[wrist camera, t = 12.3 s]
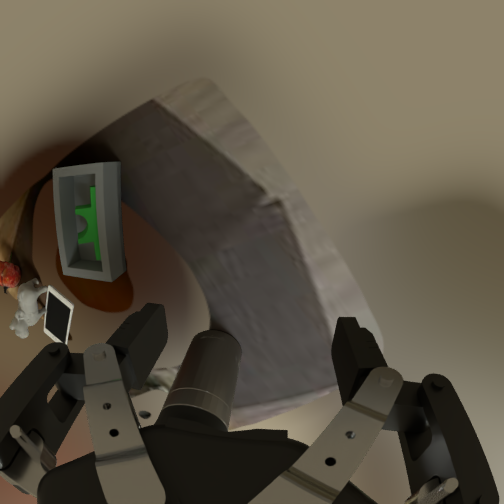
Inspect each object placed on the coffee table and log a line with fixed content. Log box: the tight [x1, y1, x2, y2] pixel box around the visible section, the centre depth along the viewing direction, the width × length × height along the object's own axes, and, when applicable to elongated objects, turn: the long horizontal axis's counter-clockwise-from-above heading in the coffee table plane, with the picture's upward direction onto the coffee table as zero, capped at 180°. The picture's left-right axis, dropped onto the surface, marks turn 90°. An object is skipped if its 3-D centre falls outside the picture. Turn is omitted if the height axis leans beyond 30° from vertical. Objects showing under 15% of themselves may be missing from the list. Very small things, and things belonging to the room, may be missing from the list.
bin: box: [53, 162, 126, 282], centre depth 38 cm, size 18×11×5 cm, turn 178°
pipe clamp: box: [75, 185, 101, 260], centre depth 37 cm, size 11×4×5 cm
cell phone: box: [44, 285, 74, 345], centre depth 49 cm, size 8×16×1 cm, turn 149°
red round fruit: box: [0, 252, 21, 294], centre depth 43 cm, size 7×7×10 cm
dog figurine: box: [10, 278, 48, 338], centre depth 43 cm, size 5×13×11 cm, turn 156°
